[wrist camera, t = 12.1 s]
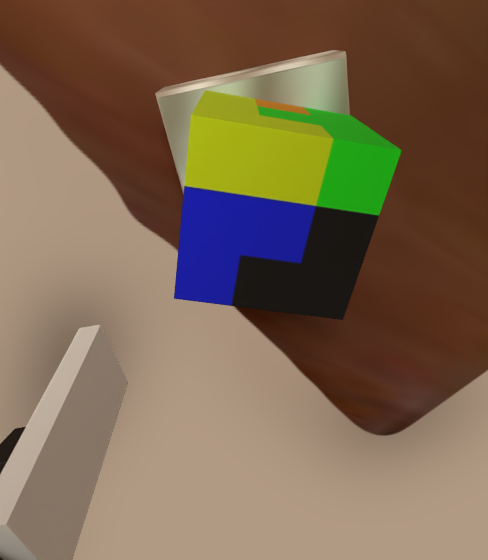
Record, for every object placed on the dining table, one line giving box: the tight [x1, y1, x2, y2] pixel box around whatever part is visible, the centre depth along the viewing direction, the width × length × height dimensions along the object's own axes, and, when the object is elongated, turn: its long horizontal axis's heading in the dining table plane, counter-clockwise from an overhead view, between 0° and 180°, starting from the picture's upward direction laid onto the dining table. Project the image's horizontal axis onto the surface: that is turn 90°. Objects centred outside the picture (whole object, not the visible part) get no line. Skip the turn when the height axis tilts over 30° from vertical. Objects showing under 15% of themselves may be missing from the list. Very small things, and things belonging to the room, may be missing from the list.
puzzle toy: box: [174, 90, 402, 320], centre depth 26 cm, size 10×10×10 cm
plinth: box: [155, 50, 350, 194], centre depth 32 cm, size 13×13×5 cm
